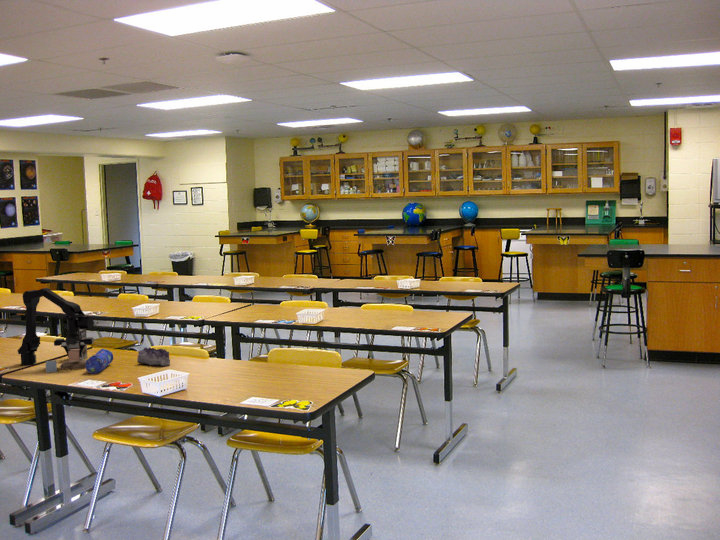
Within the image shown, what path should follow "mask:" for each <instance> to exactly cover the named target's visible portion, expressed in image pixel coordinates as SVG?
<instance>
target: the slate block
mask: <svg viewBox="0 0 720 540" xmlns="http://www.w3.org/2000/svg"><path fill="white" fill-rule="evenodd" d="M57 372H58V368H57V359H56V360H55V359H54V360H53V359H52V360H46V361H45V373H47V374H48V373H57Z"/></svg>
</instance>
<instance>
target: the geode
mask: <svg viewBox="0 0 720 540" xmlns="http://www.w3.org/2000/svg"><path fill="white" fill-rule="evenodd" d="M137 354H138V355H137V364H145V365H147V366H149V367H153V366H159V367H162V368H163V367H170V366H171V359H170V352H169V351H167V350H166V349H165V348H157V349H156V348H154V347H143V349H140V350H139V351H138V352H137Z"/></svg>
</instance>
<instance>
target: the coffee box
mask: <svg viewBox="0 0 720 540" xmlns="http://www.w3.org/2000/svg"><path fill="white" fill-rule="evenodd" d="M79 329H80V328H79ZM87 336H88V335H87V329H80V337H81V339H85V338H88V337H87ZM80 345H81V343H76V344H75V345H73V344H72V345H69V349H70V350H71V349H80ZM87 358H88V344H87V345H86V346H85V347H84V349H83V352H82V355H81V359H80V360H86V359H87Z"/></svg>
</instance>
